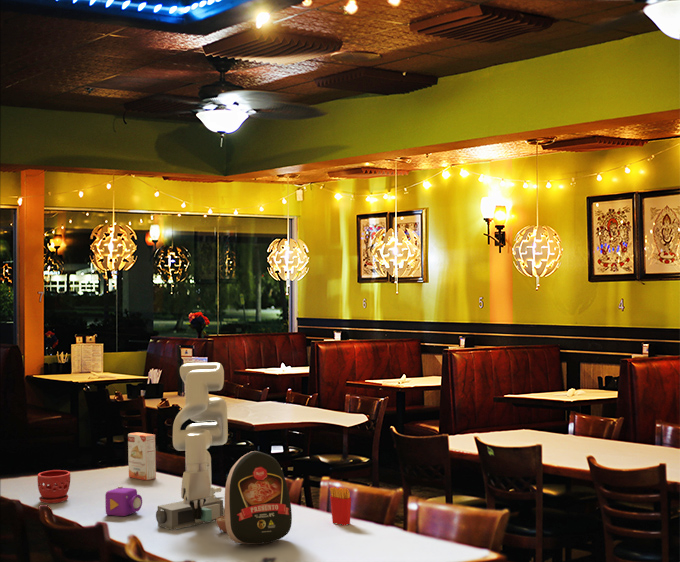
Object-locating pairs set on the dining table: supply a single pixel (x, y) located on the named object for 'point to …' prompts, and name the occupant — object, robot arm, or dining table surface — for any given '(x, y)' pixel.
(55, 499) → the plant pot
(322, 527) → the dining table surface
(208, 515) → the side door
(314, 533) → the dining table surface
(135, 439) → the cracker box
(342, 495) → the french fries
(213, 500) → the camera housing
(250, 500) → the packaged food
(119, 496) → the toy camera
